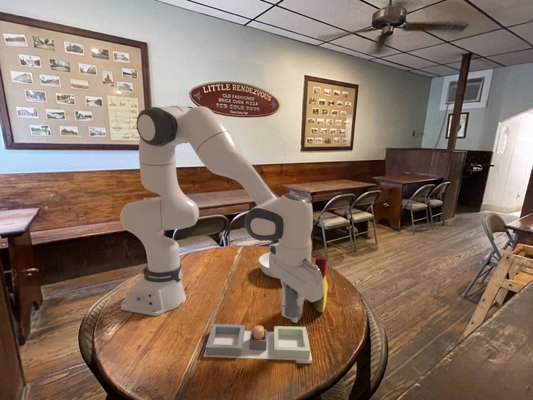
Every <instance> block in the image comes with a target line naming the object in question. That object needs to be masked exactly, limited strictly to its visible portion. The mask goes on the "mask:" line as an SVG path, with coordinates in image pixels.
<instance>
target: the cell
mask: <svg viewBox="0 0 533 400" xmlns="http://www.w3.org/2000/svg"><path fill="white" fill-rule="evenodd" d="M298 297H299V295H298V292H297V291H295V290H294V289H293V288H291V287H290V286H289V285H286V287H285V315H286V316H287V317H289V318H297V317H299V316H300V307H299V306H298V305H296V304H295V298H298ZM289 318H288V319H289Z"/></svg>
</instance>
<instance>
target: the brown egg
mask: <svg viewBox="0 0 533 400" xmlns="http://www.w3.org/2000/svg"><path fill="white" fill-rule="evenodd" d="M264 330H265V328H264V326H263V325H260V324H259V325H255V326H254V327H253V339H254V340H264Z"/></svg>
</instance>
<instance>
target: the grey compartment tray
mask: <svg viewBox="0 0 533 400" xmlns="http://www.w3.org/2000/svg"><path fill="white" fill-rule="evenodd" d="M245 326H246V325H245V324H227V323H226V324H225V323H224V324H223V323H221V324H220V323H213V324H212V327H211V329H210V333H209V335H208V339H207V342H206V345H205V351H204V352H203V357H205V358H229V359H230V358H231V359H252V360H253V359H254V360H256V359H257V360H283V361H284V360H287V361H295V363H296V364H308V365H309V364H310V365H311V364H312V363H313V357H312V353H311V346H310V342H309V336H308V331H307V327H306V326H282V325H274V326H273V328H274V329H273V331H268V329H264V340H254V339H253V329H252V328H251V329H250V330H245Z"/></svg>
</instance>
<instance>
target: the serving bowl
mask: <svg viewBox="0 0 533 400" xmlns="http://www.w3.org/2000/svg"><path fill="white" fill-rule="evenodd" d="M269 254H270V252H267V253H264V254H262V255H260V256H259V258H258V265H259V268H260V269H261V271H262V272H263V273H264V274H265V275H267V276H268V277H272V278H273V279H279V278H278V277H277V276H275V275H274V274H273V273H271V271H270V268H269Z"/></svg>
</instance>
